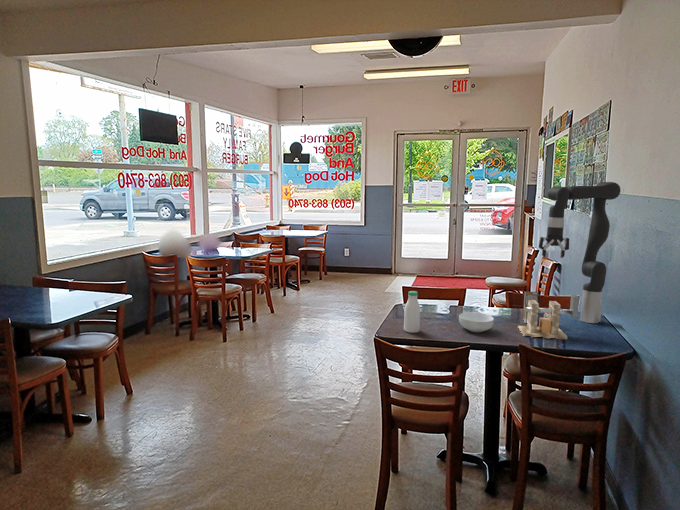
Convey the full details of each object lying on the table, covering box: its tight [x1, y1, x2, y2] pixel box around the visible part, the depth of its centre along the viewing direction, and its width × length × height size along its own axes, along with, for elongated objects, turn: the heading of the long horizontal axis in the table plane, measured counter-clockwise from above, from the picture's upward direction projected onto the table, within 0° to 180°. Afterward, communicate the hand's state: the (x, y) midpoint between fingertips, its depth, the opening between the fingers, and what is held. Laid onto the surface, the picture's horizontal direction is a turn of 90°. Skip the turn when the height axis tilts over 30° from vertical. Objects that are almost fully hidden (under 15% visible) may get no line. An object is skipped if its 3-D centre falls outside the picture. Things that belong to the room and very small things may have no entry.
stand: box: [517, 300, 568, 341], centre depth 242 cm, size 20×14×16 cm
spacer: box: [538, 317, 551, 333], centre depth 242 cm, size 4×6×6 cm, turn 172°
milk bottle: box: [403, 290, 421, 334], centre depth 243 cm, size 8×8×20 cm
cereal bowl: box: [458, 311, 495, 333], centre depth 247 cm, size 17×17×7 cm
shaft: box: [526, 294, 580, 318], centre depth 241 cm, size 23×4×10 cm, turn 82°
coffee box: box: [522, 291, 541, 325], centre depth 262 cm, size 9×6×16 cm
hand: (552, 257), depth 254 cm, fingers open, 8 cm apart
